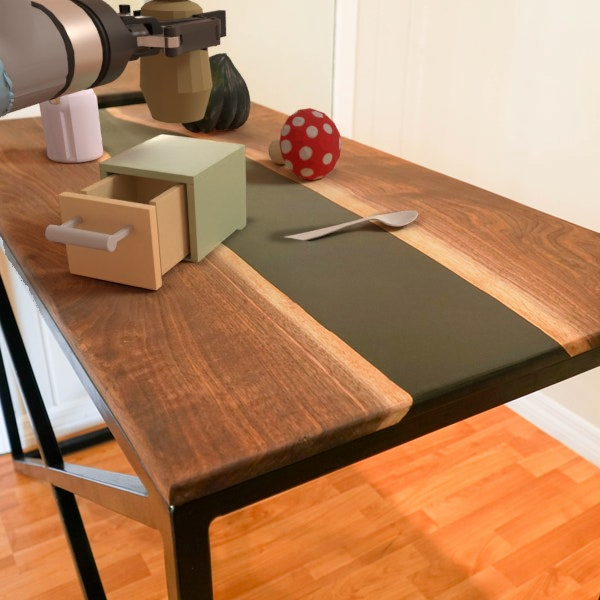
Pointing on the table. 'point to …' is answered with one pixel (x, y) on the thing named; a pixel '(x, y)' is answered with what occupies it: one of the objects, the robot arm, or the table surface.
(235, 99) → the squash
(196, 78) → the squeeze bottle
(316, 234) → the spoon
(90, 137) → the soap bottle
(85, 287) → the table surface
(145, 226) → the drawer
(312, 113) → the decorative mushroom
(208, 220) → the cabinet
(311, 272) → the table surface
